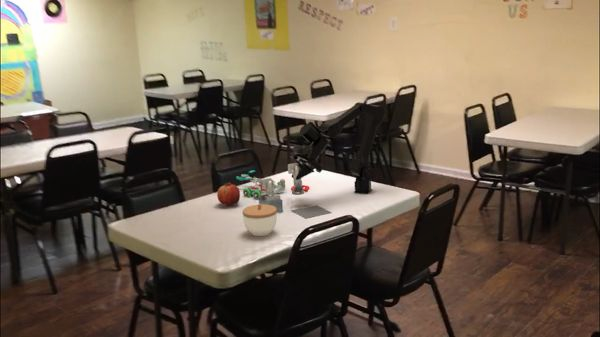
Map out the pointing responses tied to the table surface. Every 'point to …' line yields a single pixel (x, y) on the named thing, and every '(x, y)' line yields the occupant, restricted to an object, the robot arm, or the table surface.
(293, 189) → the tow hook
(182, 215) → the table surface
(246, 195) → the robot kit
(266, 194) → the vise
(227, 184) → the fruit
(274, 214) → the lidded bowl
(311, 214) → the mat
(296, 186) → the flanged metal post
